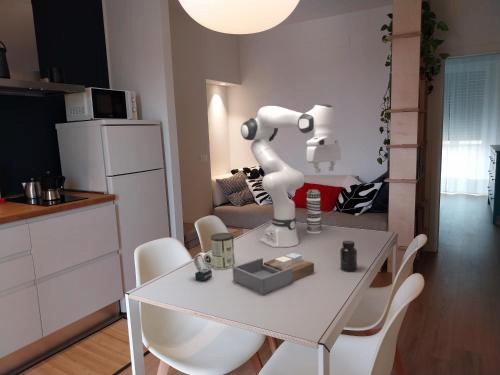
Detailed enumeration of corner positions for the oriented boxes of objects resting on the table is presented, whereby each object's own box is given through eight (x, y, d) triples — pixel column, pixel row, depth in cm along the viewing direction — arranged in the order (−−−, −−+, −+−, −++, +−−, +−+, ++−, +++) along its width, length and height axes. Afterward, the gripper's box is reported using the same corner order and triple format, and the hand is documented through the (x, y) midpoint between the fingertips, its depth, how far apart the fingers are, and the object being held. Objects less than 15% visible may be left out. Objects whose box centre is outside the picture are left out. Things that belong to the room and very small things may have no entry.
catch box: (233, 281, 149) (232, 267, 148) (262, 270, 159) (262, 257, 158) (262, 295, 135) (261, 279, 134) (292, 282, 145) (292, 268, 144)
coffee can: (219, 260, 174) (217, 231, 172) (238, 262, 170) (237, 233, 168) (208, 267, 165) (206, 237, 163) (228, 270, 161) (226, 239, 159)
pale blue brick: (285, 261, 158) (285, 255, 158) (293, 258, 161) (293, 252, 161) (293, 264, 154) (293, 258, 154) (301, 261, 157) (301, 255, 157)
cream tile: (275, 264, 154) (275, 259, 154) (283, 261, 157) (283, 256, 157) (283, 267, 150) (283, 261, 150) (292, 264, 154) (291, 258, 153)
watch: (207, 282, 149) (206, 256, 147) (192, 279, 153) (190, 254, 151) (215, 277, 153) (214, 252, 152) (200, 274, 157) (198, 250, 156)
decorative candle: (306, 233, 214) (305, 191, 210) (306, 229, 223) (305, 189, 219) (322, 233, 212) (321, 191, 209) (321, 229, 221) (321, 188, 218)
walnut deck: (264, 271, 158) (263, 262, 158) (287, 263, 167) (286, 254, 166) (290, 281, 146) (290, 272, 145) (314, 272, 155) (313, 263, 154)
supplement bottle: (351, 265, 161) (351, 239, 159) (360, 270, 154) (360, 243, 152) (337, 267, 159) (337, 240, 157) (345, 273, 153) (345, 245, 151)
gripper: (333, 139, 172) (333, 169, 174) (303, 141, 159) (304, 173, 161) (344, 139, 167) (344, 169, 169) (315, 141, 154) (315, 174, 156)
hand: (324, 171), depth 165 cm, fingers open, 8 cm apart
